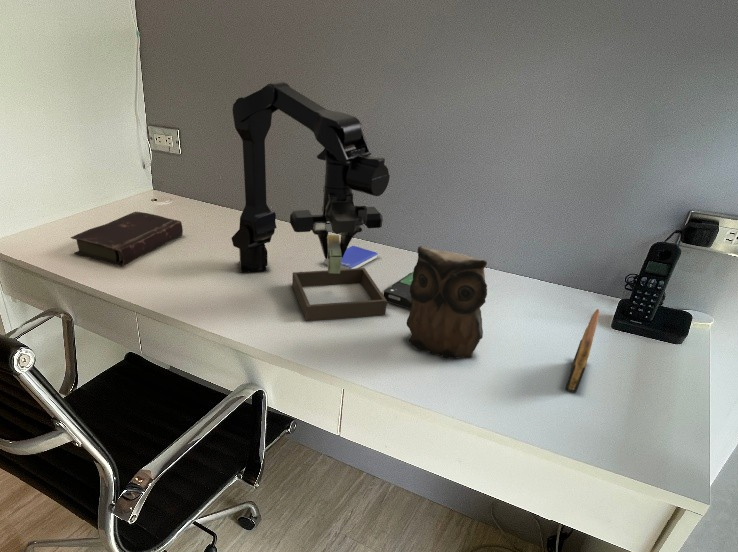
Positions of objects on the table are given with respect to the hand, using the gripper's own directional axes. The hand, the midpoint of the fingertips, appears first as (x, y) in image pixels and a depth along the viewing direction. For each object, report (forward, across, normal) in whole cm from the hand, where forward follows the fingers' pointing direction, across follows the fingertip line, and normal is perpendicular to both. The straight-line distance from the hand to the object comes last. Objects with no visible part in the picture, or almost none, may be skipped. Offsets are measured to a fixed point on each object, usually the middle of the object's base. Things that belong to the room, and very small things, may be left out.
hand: (333, 257), depth 124 cm
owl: (+10, +18, -22) cm, 30 cm away
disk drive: (+11, +20, -1) cm, 23 cm away
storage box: (+10, +2, 0) cm, 11 cm away
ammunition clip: (+10, +37, -37) cm, 54 cm away
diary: (+11, -47, +41) cm, 64 cm away
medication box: (+1, 0, 0) cm, 1 cm away
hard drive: (+11, +11, +21) cm, 26 cm away
